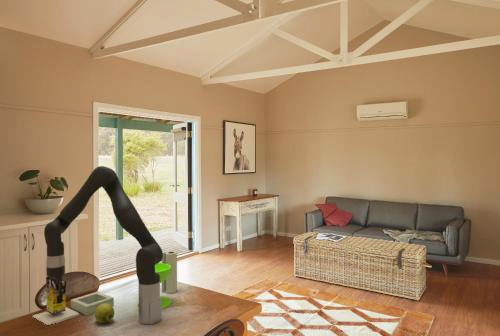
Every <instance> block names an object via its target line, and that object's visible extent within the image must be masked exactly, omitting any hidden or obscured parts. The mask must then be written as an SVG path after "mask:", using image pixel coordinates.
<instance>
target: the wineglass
mask: <svg viewBox="0 0 500 336" xmlns="http://www.w3.org/2000/svg"><path fill="white" fill-rule="evenodd" d="M170 269H171V266H170V265H168V264H164V263H162V262H159V263H158V264H156V265H155V273H158V274H159V275H160V284H162V282H163V281H164V280H165V279H166V278H167V277H168V275H169V273H170ZM160 299H161V310H162V309H164V308H167V307H169V306H170V305H171V303H172V301H171V300H170V298H169V297H166V296H162V295H160ZM137 308H139V302H138V303H137Z"/></svg>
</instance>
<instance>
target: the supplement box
mask: <svg viewBox="0 0 500 336" xmlns="http://www.w3.org/2000/svg"><path fill="white" fill-rule="evenodd" d="M57 288H59V287H57ZM58 291H59V290H58ZM66 299H67V298H66V293H65V294H63V302H62V303H59V304H58V303H57V291H56V290H55V289H54V287H51V288H47V287H46V311H47V312H48V313H50V314H52V315H54V314H56V313H60V312H63V311H66V307H67V306H66V305H67V304H66Z"/></svg>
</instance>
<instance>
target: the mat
mask: <svg viewBox="0 0 500 336" xmlns="http://www.w3.org/2000/svg"><path fill="white" fill-rule="evenodd" d="M78 316H80V312H78V311H76V310H74V309H72V308H70V307H67V306H66V311H63V312H60V313H56V314H54V315H52V314H50V313H48V312H47V310H46V311H43V312H40V313H36V314H33V315H32V318H33V317H34V318H36V319H37V320H39V321H41V322H43V323H44V324H43V323H42V324H43V325H45V324H46V325H50V326H52V325H51V324H53V325H55V323H56V324H58V323H61V322H64V321H66V320H70V319H73V318H77V317H78ZM34 318H33V319H34ZM36 319H35V320H36ZM37 320H36V321H37ZM39 321H38V322H39ZM41 322H40V323H41ZM46 325H45V326H46Z"/></svg>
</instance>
